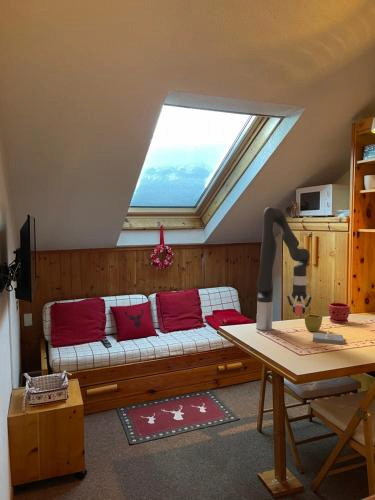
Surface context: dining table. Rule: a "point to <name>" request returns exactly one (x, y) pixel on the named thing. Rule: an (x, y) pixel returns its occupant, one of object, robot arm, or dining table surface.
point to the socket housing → (298, 309)
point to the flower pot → (313, 322)
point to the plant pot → (339, 312)
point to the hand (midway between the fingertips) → (298, 313)
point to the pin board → (328, 338)
